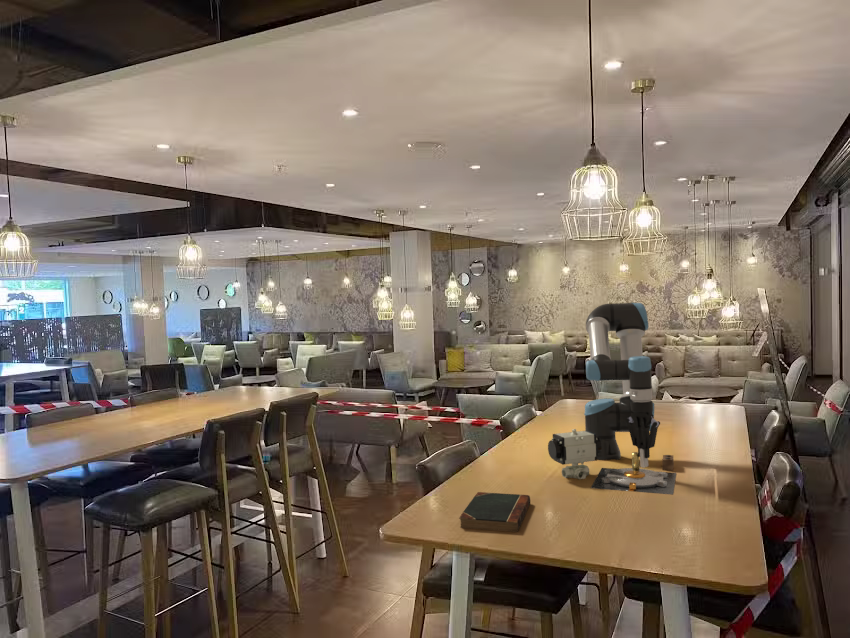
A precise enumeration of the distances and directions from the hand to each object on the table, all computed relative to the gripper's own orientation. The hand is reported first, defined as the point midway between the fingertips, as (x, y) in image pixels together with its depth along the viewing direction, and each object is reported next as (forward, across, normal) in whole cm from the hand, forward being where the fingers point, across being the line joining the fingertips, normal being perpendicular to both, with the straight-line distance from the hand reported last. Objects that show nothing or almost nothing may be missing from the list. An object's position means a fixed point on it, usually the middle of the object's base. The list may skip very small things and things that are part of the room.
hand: (644, 466), depth 227 cm
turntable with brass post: (+3, +1, -7) cm, 7 cm away
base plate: (+4, +1, -7) cm, 8 cm away
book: (+5, -8, -64) cm, 64 cm away
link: (+5, 0, +15) cm, 16 cm away
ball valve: (+4, -17, -17) cm, 24 cm away
